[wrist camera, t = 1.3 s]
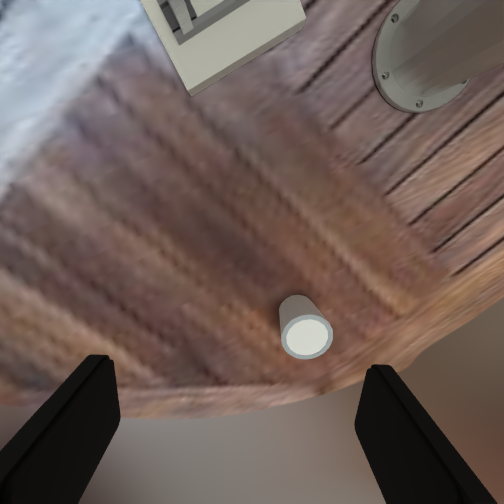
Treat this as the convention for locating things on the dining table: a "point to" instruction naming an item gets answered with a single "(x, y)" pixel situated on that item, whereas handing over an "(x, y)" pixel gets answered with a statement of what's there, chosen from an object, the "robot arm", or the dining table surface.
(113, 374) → the robot arm
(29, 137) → the dining table surface
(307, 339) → the shot glass
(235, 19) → the switch panel
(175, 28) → the grey slider handle
